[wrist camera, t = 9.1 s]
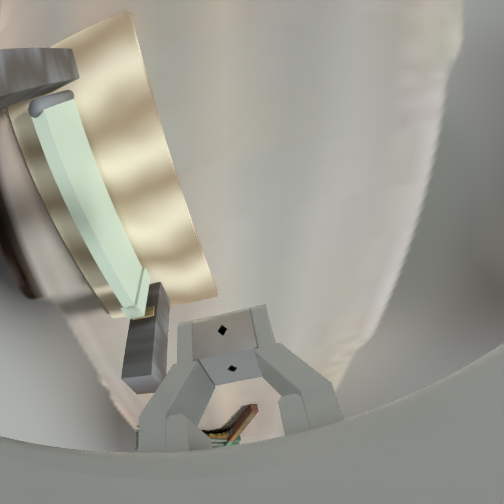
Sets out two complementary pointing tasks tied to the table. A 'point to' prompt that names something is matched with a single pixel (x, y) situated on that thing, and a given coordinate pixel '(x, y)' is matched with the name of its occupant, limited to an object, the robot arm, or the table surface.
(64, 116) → the gate panel
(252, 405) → the miniature gate
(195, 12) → the table surface
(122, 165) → the base
